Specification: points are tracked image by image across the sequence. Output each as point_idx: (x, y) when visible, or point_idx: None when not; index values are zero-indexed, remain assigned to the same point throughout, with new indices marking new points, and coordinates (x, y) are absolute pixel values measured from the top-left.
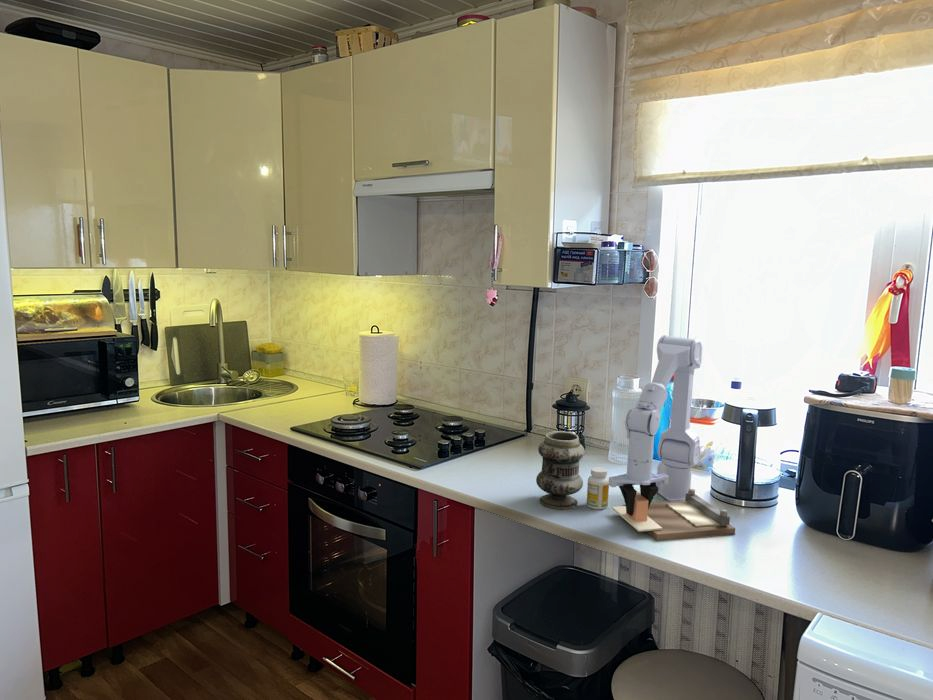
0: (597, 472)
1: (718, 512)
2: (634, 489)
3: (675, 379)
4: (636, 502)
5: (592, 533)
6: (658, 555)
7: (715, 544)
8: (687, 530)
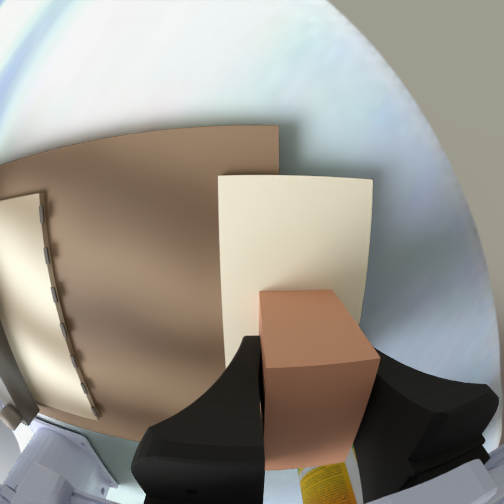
0: None
1: None
2: (438, 437)
3: None
4: (376, 354)
5: (477, 264)
6: (337, 17)
7: (50, 88)
8: (90, 157)
